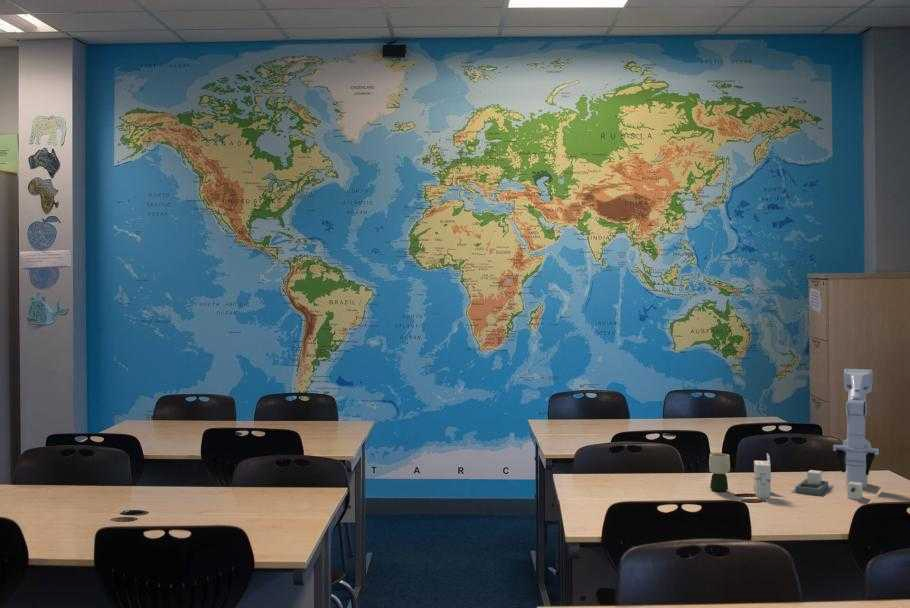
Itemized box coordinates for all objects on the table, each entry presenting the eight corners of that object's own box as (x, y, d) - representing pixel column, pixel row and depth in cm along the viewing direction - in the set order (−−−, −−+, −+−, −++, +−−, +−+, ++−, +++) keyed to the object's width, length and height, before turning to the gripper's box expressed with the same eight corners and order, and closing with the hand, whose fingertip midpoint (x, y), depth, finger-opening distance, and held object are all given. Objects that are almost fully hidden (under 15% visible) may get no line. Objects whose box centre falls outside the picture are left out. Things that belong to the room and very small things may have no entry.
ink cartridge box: (753, 492, 328) (753, 451, 328) (767, 493, 327) (768, 452, 327) (756, 497, 320) (756, 456, 319) (770, 498, 319) (771, 456, 318)
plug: (850, 498, 320) (850, 481, 320) (862, 499, 318) (862, 482, 317) (846, 502, 314) (846, 485, 313) (858, 504, 311) (858, 486, 311)
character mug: (737, 492, 327) (737, 456, 327) (721, 494, 324) (721, 458, 324) (717, 486, 337) (717, 451, 337) (701, 488, 334) (702, 453, 334)
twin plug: (811, 484, 336) (811, 468, 336) (822, 486, 334) (823, 470, 334) (807, 488, 330) (807, 472, 330) (818, 490, 328) (818, 473, 328)
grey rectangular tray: (803, 484, 340) (803, 476, 340) (834, 488, 334) (834, 480, 334) (790, 495, 324) (790, 486, 324) (823, 499, 318) (823, 490, 318)
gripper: (831, 434, 317) (830, 472, 317) (876, 438, 309) (876, 477, 309) (835, 431, 323) (834, 469, 323) (880, 435, 315) (879, 474, 315)
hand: (855, 473), depth 316 cm, fingers open, 7 cm apart
